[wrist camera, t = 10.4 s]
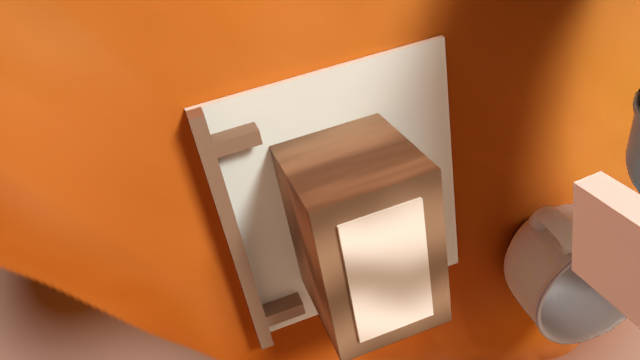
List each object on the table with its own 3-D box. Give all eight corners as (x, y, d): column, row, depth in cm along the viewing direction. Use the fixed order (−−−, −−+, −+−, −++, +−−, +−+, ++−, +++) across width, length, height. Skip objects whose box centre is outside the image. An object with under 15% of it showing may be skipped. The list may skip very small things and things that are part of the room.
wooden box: (268, 146, 39) (309, 215, 31) (378, 112, 40) (443, 170, 33) (302, 280, 45) (343, 365, 37) (395, 247, 47) (453, 322, 39)
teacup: (595, 253, 56) (662, 305, 49) (499, 308, 55) (553, 370, 48) (576, 138, 48) (652, 182, 41) (464, 201, 47) (523, 256, 41)
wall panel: (441, 34, 40) (455, 42, 38) (455, 259, 50) (467, 272, 48) (184, 108, 36) (188, 119, 35) (256, 332, 47) (261, 349, 45)
